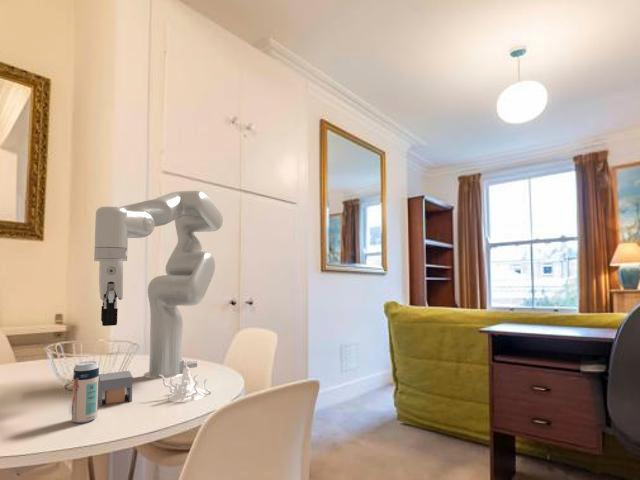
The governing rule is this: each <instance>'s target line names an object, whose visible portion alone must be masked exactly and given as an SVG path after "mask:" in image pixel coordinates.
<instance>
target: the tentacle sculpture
mask: <svg viewBox="0 0 640 480" xmlns="http://www.w3.org/2000/svg"><path fill="white" fill-rule="evenodd" d="M184 362H185V368H184V369H183V375H181V376H180V380H181V381H180V382H177V383H175V384H174V383H173V381H174V380H176V377H170V379H169V384H167V382H166V378H164V376H162V375H159V376H161V377H162V378H161V379H162V384H163V386H164V387H165V388H169V392H170V394H171V395H169V396H168V397H167V399H168V400H169V401H170V402H171V403H188V402H192V401H196V400H200V399H203V398H205V397H206V396H210V395H211V394H212V391H211V390H210V389H209V388H207V387H206V382H207V380H208V378H205V379H204V381H203V384H202V387H203V389H202V388H198V387H197V385H198V384H199V380H197V378H196V377H198V374H196V375H195V376H194V377H193V378H192V374H191V372H190V368H189V367H187V360H186V359H185V360H184ZM194 382H195V383H194Z"/></svg>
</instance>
